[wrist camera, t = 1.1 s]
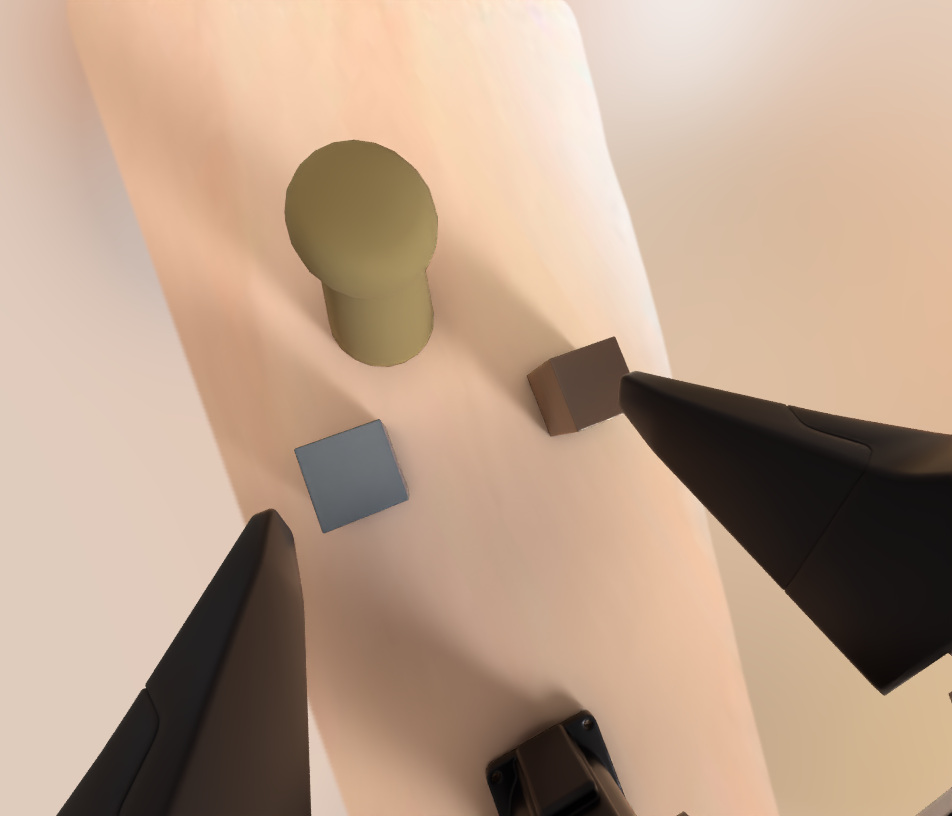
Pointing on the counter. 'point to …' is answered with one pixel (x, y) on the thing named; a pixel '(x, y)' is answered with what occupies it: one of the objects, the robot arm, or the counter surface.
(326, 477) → the slate block
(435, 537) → the counter surface
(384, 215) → the cork
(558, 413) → the walnut block
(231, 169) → the counter surface
